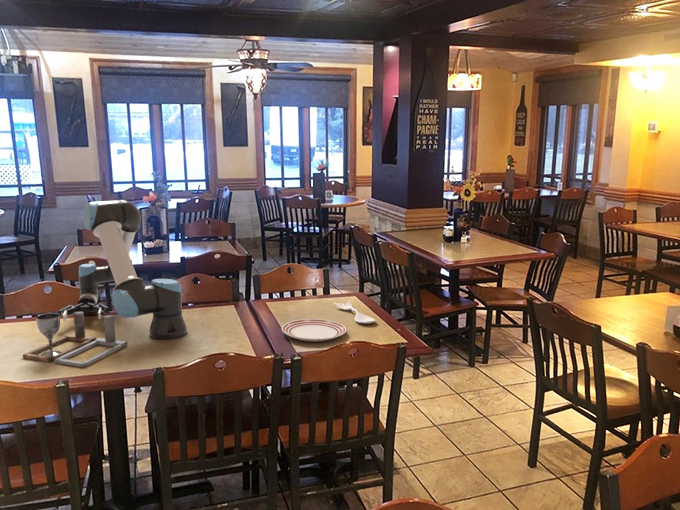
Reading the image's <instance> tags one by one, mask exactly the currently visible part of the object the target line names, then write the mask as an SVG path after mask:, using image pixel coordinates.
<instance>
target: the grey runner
mask: <svg viewBox="0 0 680 510" xmlns="http://www.w3.org/2000/svg"><path fill="white" fill-rule="evenodd" d="M103 322H104V336H105V338H104V337H98V338H96V340H94V341H93V342H91V343H89V344H87V345H84V346H82V347H80V348H78V349H76V350H74V351H72V352H69V353H67V354H65V355H63V356H61V357H59V358H57V359H55V360H54V361H53V362H54V363H55V364H60V365H61V364H62V365H66V366H71V367H72V366H73V367H80V368H85V367H88V366H90V365H92V364H93V363H95V362H98V361H99V360H101V359H103V358H106V357H107V356H109V355H110V354H112V353H115V352H116V351H118V350H120V349H122V348H124V347H126V346H128V341H126V340H125V341H124V340H118V339H116V332H115V331H116V329H115V316H114V315H111V314H110V315H104V316H103ZM97 345H100V346H106V347H107V346H108V347H110V348H108V349H106V350H104V351H103V352H100V353H98V354H97V355H95V356H93V357H91V358H88V359H87V360H85V361H84V362H83V361H77V360H73V359H72V360H71V358H72V357H74V356H76V355H78V354H81V353H83V352H84V351H87V350H89V349H91V348H93V347H95V346H97Z"/></svg>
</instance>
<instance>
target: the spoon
mask: <svg viewBox="0 0 680 510" xmlns="http://www.w3.org/2000/svg"><path fill="white" fill-rule="evenodd" d="M333 303H334V306H336V307H337V308H339V309H341V310H344V311H350V310H351V311H352V312H355V316H354V318H353V319H354V320H355V322H357V323H359V324H365V325H366V324H371V323H374V322H376V320H377V319H375V318H373V317H371V316H368V315H366V314H363V313H361V312H359V310H358V309H357V308H355V307H354V306H353V303H352V301H351V300H349V302H348V301H347V302H344V303H343V302H342V303H340V302H339V303H338V302H333Z"/></svg>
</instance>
